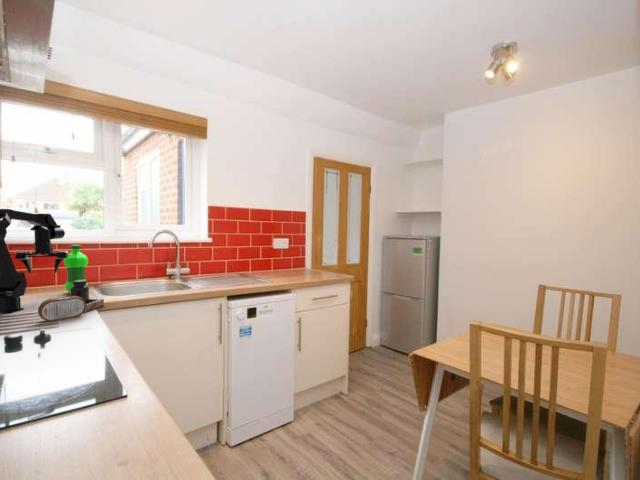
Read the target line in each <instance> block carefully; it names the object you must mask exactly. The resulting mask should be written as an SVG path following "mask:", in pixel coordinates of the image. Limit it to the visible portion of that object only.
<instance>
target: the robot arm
mask: <svg viewBox="0 0 640 480" xmlns="http://www.w3.org/2000/svg"><path fill="white" fill-rule="evenodd" d="M12 220H15V221H20V222H22V221H23V222H27V223H29V224H30V225H33V227H31V228H30V231H34V232H33V233H34V243H33V244H34V246H33V247H34V248H33V251H34V252H30V251H18V252H16V253H15V254H14V259H15V260H18V261H20V262H22V263H23V265H24V266H25V268H26V269H27V271H28V272H29V274H30V275H31V274H32V271H33V270H32V269H33V268H32V263H31V262H32V258H42V257H44V258H45V257H46V258H47V257H48V258H52V257H56V258H55V261H54V273H55V274H56V273H57V271H58V270H59V268H60V267H59V266H60V264H61V263H62V260H63V261H64V259H65V258H67V257H69V254H70V253H69V251H68V250H58V251H56V252H54V246H53V245H52V241H51V240H57V239H58V240H60V239H63V238H64V237H65V235H66V232H65V230H64V228H62V227H61V225H60V224H58V223H57V222H56V221H55V219H54V217H53V216H52V214H51V213H48V212H47V213H45V212H27V211H21V210H14V209H11V208H0V313H1V314H3V313H4V314H11V313H14V312H17V311H22V310H24V307H21V305H22V304H21V296H25V293H26V289H27V286H28V285H27V284H28V283H27V282H28V279H27V277H26V275H25V273H24V272H21V271H17V270H16V267H15V265H14V261H13V260H12V256H11V254H10V251H9V249H8V246H7V243H6V241H5V238H6V236H7V233H8V232H7V229H8V228H9V226H11V223H12Z"/></svg>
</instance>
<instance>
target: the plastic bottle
mask: <svg viewBox="0 0 640 480" xmlns="http://www.w3.org/2000/svg"><path fill="white" fill-rule="evenodd" d="M70 249H71V252H70V253H69V257H67V258H65V259H63V265H64V266H65V267H66V282H65V285H64V288H65V290H66V291H67V292H68V293H70V289H71V287H73V281H74V280H86V283H87V284H86V286H88V287H89V284H88V281H87V279H86V278H87V277H86V267H87V266H88V264H89V258H88V257H87V255H85V254H84V253H82V252H81V251H80V250H81V249H82V245H81V244H71V245H70Z"/></svg>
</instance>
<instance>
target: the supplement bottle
mask: <svg viewBox="0 0 640 480" xmlns="http://www.w3.org/2000/svg"><path fill="white" fill-rule="evenodd" d="M86 281H87V279H86V280H74V281H73V287H71V289H70V292H69V297H70V296H78V297H81V298H82V299H83V300H84V301H85V302H86V304H88V303H89V299H90V287H89V285H88V286H86V284H87V283H88V282H87V283H86Z"/></svg>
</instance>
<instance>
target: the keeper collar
mask: <svg viewBox="0 0 640 480" xmlns="http://www.w3.org/2000/svg"><path fill="white" fill-rule="evenodd" d="M104 303H105V302H104V299H102V298H89V303H88V304H86V309H85V311H84V312H83V313H82V314H85V313H88V312H90V311H93V310H96V309H98V308H102V307H104V306H105V304H104Z"/></svg>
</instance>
